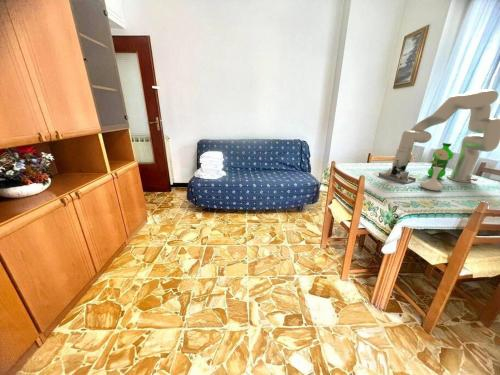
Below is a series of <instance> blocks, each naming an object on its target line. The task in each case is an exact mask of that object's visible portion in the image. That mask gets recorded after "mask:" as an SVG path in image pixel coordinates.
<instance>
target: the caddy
mask: <svg viewBox="0 0 500 375" xmlns="http://www.w3.org/2000/svg"><path fill="white" fill-rule="evenodd" d="M388 172H389V170H387V171H386V173H378V177H379V178H383V179H386V180H390V181H393V182H396V183H398V184H403V185H407V184H410V183H411V184H412V183H415V182H416V179H417V178H416V177H413V176H409V175H408V176H407V178H406V179H405V180H401V179H399V178H400V176H399V175H398V177H397V178H394V177H391V176H389V174H390V173H388Z"/></svg>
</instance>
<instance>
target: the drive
mask: <svg viewBox="0 0 500 375" xmlns="http://www.w3.org/2000/svg"><path fill="white" fill-rule="evenodd" d="M388 171H389V172H388V173H390V174H389V176H391V177H394V178H397V177H398V175H399V176H400V178H399V179H401V180H405V179H406V178H407V176H409V173H410V171H408V170H401V169H397V174H396V175H393V174H391V172H392V167H391V168H389V169H388Z"/></svg>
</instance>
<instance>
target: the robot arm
mask: <svg viewBox="0 0 500 375" xmlns="http://www.w3.org/2000/svg"><path fill="white" fill-rule="evenodd" d="M498 97H499V93H498V91H497V90H494V89H476V90H470V91H466V92H465V93H464V94H463V93H462V94H454V95H451V96H449V97H448V98H447V99H446V100H445V101H444V102H443V103H442V104H441V105H440V106H439V107H438V108H437V109H436V111H434V113H432V114H431V115H429V116H427V117H425V118H423V119H422V120H421V121H418V122H417V123H416V124H415V125H414V126H412V127H411V129H410V130H404V131H403V132H402V135H401V138H400V142H399V145H398V148H397V149H398V152H397V154H396V153H395V155H396V156H395V155H394V159H393V162H392V166H391V168H392V172H391V174H393V175H396V174H397V169H398V167H401V166H402V167H401V168H400V169H401V170H405V171H407V170H406V169H407V167H408V165H409V163H410V157H411V153H412V150H413V147H414V144H415V143H420V144H425V143H428V142H429V141H430V140H431V139H432V134H431V132H429V131H426V130H427V129H428V128H431V127H434V126H437V125H440V124H443V123H446V122H447V121H448V120H449V119H450V118H451V117H452V116H454V114H455V113H456V112H458V111H459V110H470V116H469V121H468V126H467V129H468V131H469V132H471V133H472V134H468V135H466V136H465V137H464V138H463V139H462V141H461V147H460V151H459V154H458V156H457V158H456V161H455V164H454V166H453V168H452V171H451V174H448V175H447V176H446V178H447V179H449V180H451V181H455V182H460V183H471V182H473V181H474V182H477V181H478V178H477V177H473V175H472V172H473V170H474V169H475V166H476V163H477V161H478V159H479V156H480V152H487V153H488V152H492V151H494V150H495V149H497V147H498V146H499V144H500V118H495V117H491V111H492V107H491V105H492V104H494V103H495V102H496V101H497V100H498ZM473 133H474V134H473ZM479 151H480V152H479ZM396 166H397V167H396Z"/></svg>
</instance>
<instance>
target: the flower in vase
mask: <svg viewBox="0 0 500 375" xmlns="http://www.w3.org/2000/svg"><path fill="white" fill-rule="evenodd" d="M434 152H435V155H436V156H437V157H438V158H440V159H442V160H445V159H446V160H447V158H448V157H449V155H448V153H447V151H445V150H442V149H441V148H436V149H435V150H434ZM438 158H437V159H438ZM436 161H437V160H436ZM430 163H433V164H436V167H433V170H434V172H433V176H432V177H430V178H429V179H427V180H423V181H422V182H420V183H419V186H420V187H421V188H423V189H426V190H430V191H442V190H443V189H444V187H443V185H442V184H441V183H440V182H439V181H438V178H437V176H438V174H439V172H440V171H441V170H442V169H443V168H440V167H437V163H436V162H435V161H434V159H433V160H430ZM439 165H442V164H439Z"/></svg>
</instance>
